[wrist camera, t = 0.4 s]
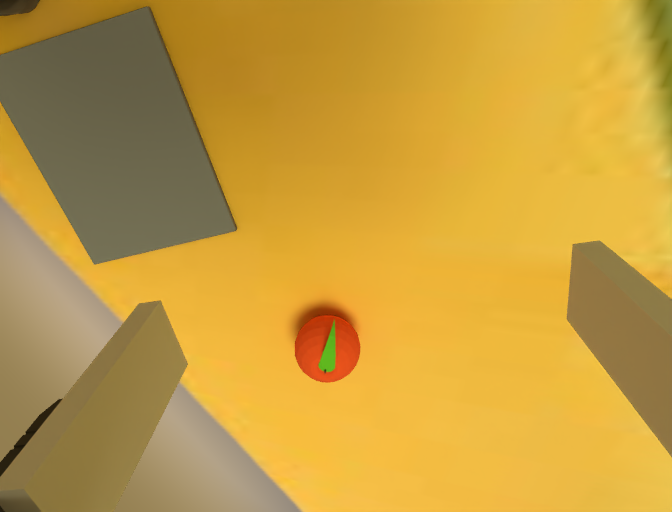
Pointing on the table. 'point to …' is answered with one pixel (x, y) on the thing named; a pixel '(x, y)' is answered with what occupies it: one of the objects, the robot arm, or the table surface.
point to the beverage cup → (16, 6)
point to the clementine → (327, 348)
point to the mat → (115, 137)
